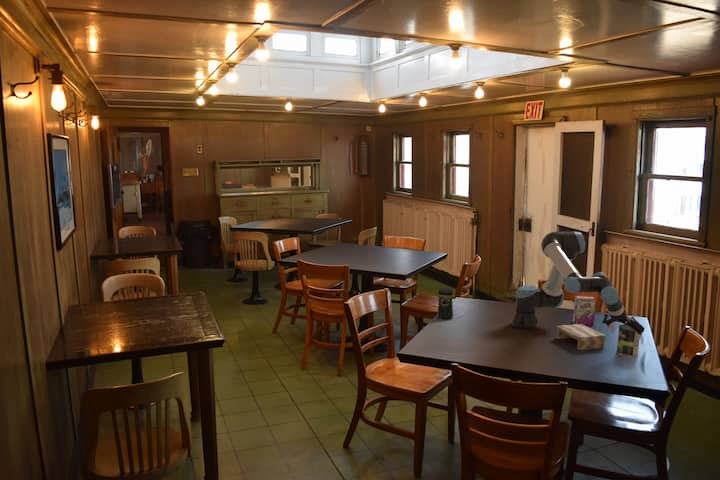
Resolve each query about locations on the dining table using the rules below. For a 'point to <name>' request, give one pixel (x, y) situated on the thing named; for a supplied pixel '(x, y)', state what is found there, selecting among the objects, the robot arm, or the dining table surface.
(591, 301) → the candy bar box
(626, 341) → the coffee can
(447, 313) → the coffee jar
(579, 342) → the birch shelf
